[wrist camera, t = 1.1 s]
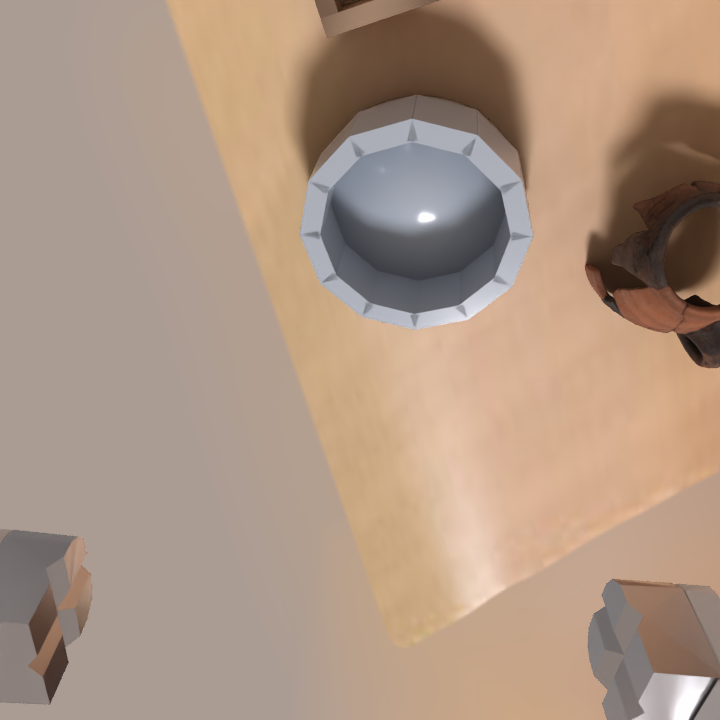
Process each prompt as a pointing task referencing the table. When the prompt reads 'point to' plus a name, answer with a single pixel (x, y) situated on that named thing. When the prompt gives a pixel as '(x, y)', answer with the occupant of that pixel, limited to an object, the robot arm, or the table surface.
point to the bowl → (417, 213)
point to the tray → (360, 13)
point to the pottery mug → (646, 261)
